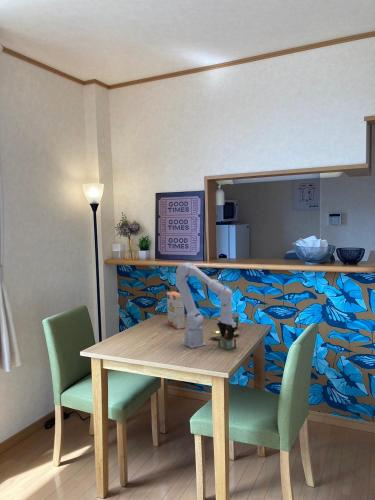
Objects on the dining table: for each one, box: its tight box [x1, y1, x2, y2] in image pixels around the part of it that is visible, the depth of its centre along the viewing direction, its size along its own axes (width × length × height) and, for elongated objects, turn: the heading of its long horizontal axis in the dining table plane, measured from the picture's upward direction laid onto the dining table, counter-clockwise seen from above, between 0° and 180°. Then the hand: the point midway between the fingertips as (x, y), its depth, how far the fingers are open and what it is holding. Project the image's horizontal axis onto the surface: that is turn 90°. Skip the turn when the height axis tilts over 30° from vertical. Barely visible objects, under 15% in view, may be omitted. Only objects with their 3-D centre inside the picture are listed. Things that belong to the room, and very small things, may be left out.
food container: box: [219, 311, 240, 330], centre depth 245 cm, size 12×6×10 cm, turn 62°
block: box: [221, 340, 234, 350], centre depth 213 cm, size 4×4×4 cm
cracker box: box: [166, 290, 186, 330], centre depth 255 cm, size 14×6×21 cm, turn 25°
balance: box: [209, 328, 240, 341], centre depth 230 cm, size 18×8×5 cm, turn 118°
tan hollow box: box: [217, 333, 237, 351], centre depth 213 cm, size 7×7×7 cm
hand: (227, 337), depth 212 cm, fingers open, 6 cm apart
